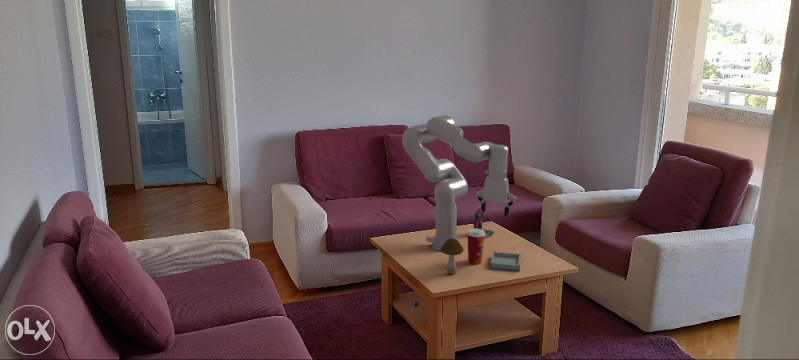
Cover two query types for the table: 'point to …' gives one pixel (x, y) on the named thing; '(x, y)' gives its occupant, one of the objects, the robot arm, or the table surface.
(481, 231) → the paper cup
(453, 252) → the mushroom
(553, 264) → the table surface
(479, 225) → the statue
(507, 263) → the tray
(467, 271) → the table surface
